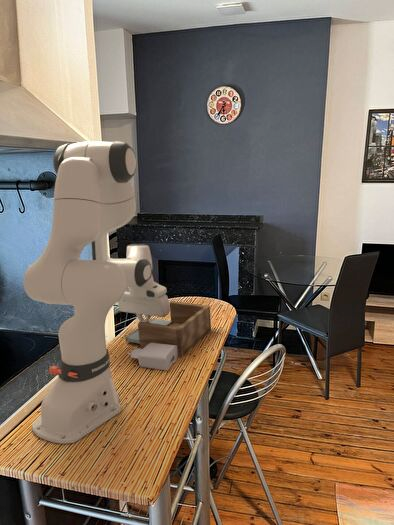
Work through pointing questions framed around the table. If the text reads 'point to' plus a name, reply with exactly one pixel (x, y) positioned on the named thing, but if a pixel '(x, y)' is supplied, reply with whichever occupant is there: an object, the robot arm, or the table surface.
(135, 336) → the tailgate
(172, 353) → the charger
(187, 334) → the crate
